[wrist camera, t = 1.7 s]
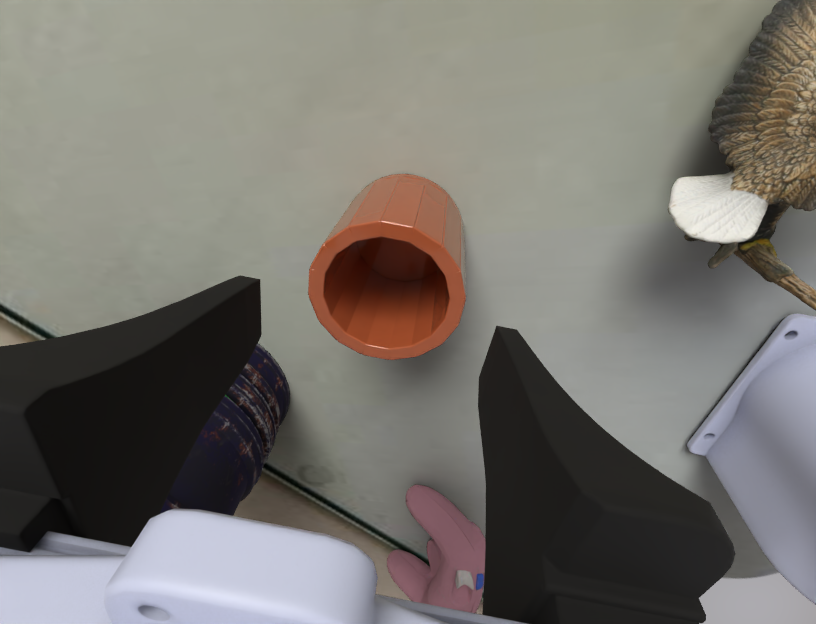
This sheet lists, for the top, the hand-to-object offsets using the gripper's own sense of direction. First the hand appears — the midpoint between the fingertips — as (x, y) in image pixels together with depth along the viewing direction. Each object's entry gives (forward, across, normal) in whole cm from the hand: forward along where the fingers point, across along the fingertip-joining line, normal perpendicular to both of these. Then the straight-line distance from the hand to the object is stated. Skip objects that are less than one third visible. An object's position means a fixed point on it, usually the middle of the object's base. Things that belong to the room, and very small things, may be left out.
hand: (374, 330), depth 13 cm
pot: (+8, 0, 0) cm, 8 cm away
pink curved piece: (+8, -6, +22) cm, 24 cm away
